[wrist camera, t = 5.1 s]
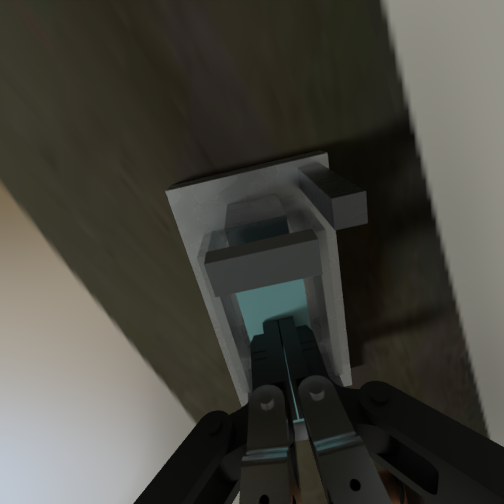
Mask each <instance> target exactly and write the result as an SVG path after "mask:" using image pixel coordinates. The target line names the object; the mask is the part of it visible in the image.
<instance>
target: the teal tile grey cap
mask: <svg viewBox="0 0 504 504" xmlns="http://www.w3.org/2000/svg"><path fill="white" fill-rule="evenodd" d="M204 266H205V269H206V272H207V274H208V277H209V280H210V283H211V286H212V289H213V292H214V295H215V297H220V296H224V295H229V294H234V293H236V296H237V300H238V303H239V306H240V309H241V313H242V316H243V319H244V323H245V326H246V329H247V332H248V336H249V339H250V342H251V341H252V339H253V336H254V335H259V334H264V332H263V324H262V323H263V322H268V321H273V320H277V322H278V326H279V321H278V319H282V318H287V317H291V316H293V319H294V323H295V326H296V327H297V326H302V325H307V326H308V327H309V328H310V329H311V324H310V318H309V312H308V305H307V299H306V293H305V287H304V281H303V279H304V278H308V277H313V276H318V275H322V274H323V273H322V265H321V256H320V248H319V240H318V238H317V236H316V234H315V233H314V231H313V229H307V230H303V231H298V232H294V233H289V234H285V235H280V236H276V237H271V238H267V239H262V240H258V241H253V242H249V243H244V244H240V245H235V246H231V247H226V248H222V249H218V250H213V251H209V252H206V256H205V261H204ZM279 330H280V326H279ZM280 335H281V331H280ZM281 339H282V336H281ZM282 343H283V341H282ZM283 348H284V346H283ZM284 352H285V351H284ZM285 357H286V356H285ZM286 362H287V361H286ZM287 367H288V366H287ZM288 372H289V371H288ZM289 377H290V376H289ZM290 382H291V381H290ZM291 388H292V385H291ZM292 393H293V390H292ZM293 398H294V394H293ZM294 403H295V408H296V413H297V418H298V420H294V421H293V424H294V430H295V441H300V440H305V439H308V434H307V430H306V425H305V421H304V419H299V415H298V411H297V407H296V402H295V398H294Z"/></svg>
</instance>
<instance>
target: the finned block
mask: <svg viewBox="0 0 504 504" xmlns="http://www.w3.org/2000/svg"><path fill="white" fill-rule="evenodd" d="M165 192H166V194H167V197H168V200H169V203H170V206H171V208H172V211H173V214H174V217H175V220H176V223H177V225H178V228H179V231H180V234H181V237H182V239H183V242H184V245H185V248H186V251H187V254H188V256H189V259H190V262H191V265H192V268H193V270H194V273H195V276H196V279H197V282H198V285H199V287H200V290H201V293H202V296H203V299H204V301H205V304H206V307H207V310H208V313H209V316H210V318H211V321H212V324H213V327H214V330H215V332H216V335H217V338H218V341H219V344H220V347H221V349H222V352H223V355H224V358H225V361H226V363H227V366H228V369H229V372H230V375H231V378H232V380H233V383H234V386H235V389H236V392H237V394H238V397H239V400H240V403H241V406H245V405H246V404H247V402H248V401H249V399H250V396H251V394H252V371H251V353H250V343H251V342H250V339H249V336H248V332H247V329H246V326H245V323H244V319H243V316H242V313H241V309H240V306H239V303H238V300H237V296H236V293H234V294H229V295H224V296H220V297H215V295H214V292H213V289H212V286H211V283H210V280H209V277H208V274H207V272H206V269H205V266H204V261H205V256H206V252H209V251H213V250H218V249H222V248H226V247H231V246H235V245H240V244H244V243H249V242H253V241H258V240H262V239H267V238H271V237H276V236H280V235H285V234H289V233H294V232H298V231H303V230H307V229H313V231H314V233H315V234H316V236H317V238H318V240H319V248H320V256H321V265H322V273H323V274H322V275H318V276H313V277H308V278H304V279H303V281H304V287H305V293H306V299H307V305H308V312H309V318H310V324H311V330H312V331H313V333H314V336H315V338H316V341H317V344H318V347H319V350H320V353H321V356H322V359H323V361H324V364H325V367H326V370H327V373H328V375H329V377H330V379H331V380H332V381H333V382H334V383H336V384H337V385H339V386H341V387H344V386H349V385H352V379H351V370H350V360H349V351H348V341H347V332H346V323H345V313H344V304H343V294H342V285H341V276H340V266H339V257H338V247H337V238H336V230H339V229H344V228H348V227H353V226H357V225H362V224H366V223H368V215H367V197H366V191H365V190H364V189H362V188H360V187H359V186H357V185H355V184H354V183H352V182H350V181H349V180H347V179H345V178H344V177H342V176H340V175H339V174H337V173H335V172H334V171H332V170H330V169H329V163H328V153H326V152H324V151H322V150H318V151H314V152H309V153H305V154H301V155H297V156H292V157H288V158H284V159H280V160H276V161H271V162H267V163H263V164H259V165H255V166H250V167H246V168H242V169H238V170H234V171H229V172H225V173H221V174H217V175H212V176H208V177H204V178H200V179H196V180H191V181H187V182H183V183H179V184H175V185H171V186H170V187H169V188H168V189H167V190H166V191H165Z"/></svg>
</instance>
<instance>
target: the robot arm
mask: <svg viewBox="0 0 504 504" xmlns="http://www.w3.org/2000/svg"><path fill="white" fill-rule="evenodd" d="M278 321H279V326H280V330H279V326H278V322H277V320H273V321H268V322H263V323H262V324H263V332H264V334H259V335H254V336H253V339H252V341H251V343H250V353H251V371H252V394H251V396H250V399H249V401H248V402H247V404H246V405H245V406H244V407H242V408H241V409H239V410H237V411H236V412H234V413H232V414H230V415H228V414H227V413H226V412H224V411H218V410H217V411H212V412H210V413H208V414H206V415H205V416H204V417H203V418H202V419H201V420H200V421H199V422H198V424H197V425H196V426H195V427H194V429H193V430H192V431H191V432H190V434H189V435H188V436H187V437H186V439H185V440H184V441H183V442H182V444H181V445H180V446H179V447H178V449H177V450H176V451H175V453H174V454H173V455H172V456H171V457H170V459H169V460H168V461H167V462H166V464H165V465H164V466H163V467H162V469H161V470H160V471H159V472H158V474H157V475H156V476H155V477H154V479H153V480H152V481H151V482H150V484H149V485H148V486H147V487H146V489H145V490H144V491H143V492H142V494H141V495H140V496H139V497H138V499H137V500H136V501H135V502H134V504H232V503H233V501H234V499H235V498H236V496H237V494H238V492H239V491H240V499H239V501H240V502H239V504H302V498H301V490H300V480H299V471H298V461H297V451H296V442H295V430H294V424H293V421H294V420H298V418H297V413H296V408H295V403H294V398H295V402H296V407H297V411H298V415H299V419H304V421H305V425H306V430H307V434H308V439H309V442H310V445H311V449H312V452H313V456H314V459H315V462H316V466H317V469H318V472H319V476H320V479H321V483H322V486H323V489H324V493H325V497H326V500H327V504H392V502H391V500H390V498H389V496H388V494H387V491H386V489H385V487H384V485H383V483H382V481H381V479H380V476H379V474H378V472H377V470H376V468H375V466H374V464H373V461H372V459H374V460H375V461H376V462H378V463H379V464H380V465H381V466H383V467H384V468H385V469H387V470H388V471H389V472H391V473H392V474H393V475H394V476H396V477H397V478H398V479H400V480H401V481H402V482H403V483H405V484H406V485H407V486H409V487H410V488H411V489H413V490H414V491H415V492H416V493H418V494H419V495H420V496H422V497H423V498H424V499H426V500H427V501H428V502H429V503H431V504H504V447H503V446H501V445H499V444H497V443H495V442H494V441H492V440H490V439H488V438H486V437H484V436H483V435H481V434H479V433H477V432H475V431H473V430H472V429H470V428H468V427H466V426H464V425H462V424H461V423H459V422H457V421H455V420H453V419H452V418H450V417H448V416H446V415H444V414H442V413H441V412H439V411H437V410H435V409H433V408H431V407H430V406H428V405H426V404H424V403H422V402H420V401H419V400H417V399H415V398H413V397H411V396H409V395H408V394H406V393H404V392H402V391H400V390H398V389H397V388H395V387H393V386H391V385H389V384H387V383H385V382H381V381H371V382H367V383H365V384H364V385H363V386H362V387H361V388H360V389H350V388H345V387H341V386H339V385H337V384H336V383H334V382H333V381H332V380H331V379H330V377H329V375H328V373H327V370H326V367H325V364H324V361H323V359H322V356H321V353H320V350H319V347H318V344H317V341H316V338H315V336H314V333H313V331H312V330H311V329H310V328H309V327H308V326H307V325H302V326H297V327H296V326H295V323H294V319H293V316H291V317H287V318H282V319H278ZM280 331H281V335H280ZM281 336H282V339H281ZM282 341H283V343H282ZM283 346H284V348H283ZM284 351H285V352H284ZM285 356H286V357H285ZM286 361H287V362H286ZM287 366H288V367H287ZM288 371H289V372H288ZM289 376H290V377H289ZM290 381H291V382H290ZM291 385H292V388H291ZM292 390H293V393H292ZM293 394H294V398H293ZM371 458H372V459H371Z"/></svg>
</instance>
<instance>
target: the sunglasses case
mask: <svg viewBox="0 0 504 504" xmlns="http://www.w3.org/2000/svg"><path fill="white" fill-rule="evenodd" d="M378 474H379V476H380V479H381V481H382V483H383V485H384V487H385V489H386V491H387V494H388V496H389V498H390V500H391V502H392V504H408V502H407V496H406V492H405V485H404V483H403V482H402V481H401V480H400V479H398V478H397V477H396V476H394V475H393V474H392V473H391V472H389V471H388V470H384V471H380V472H378Z"/></svg>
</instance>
